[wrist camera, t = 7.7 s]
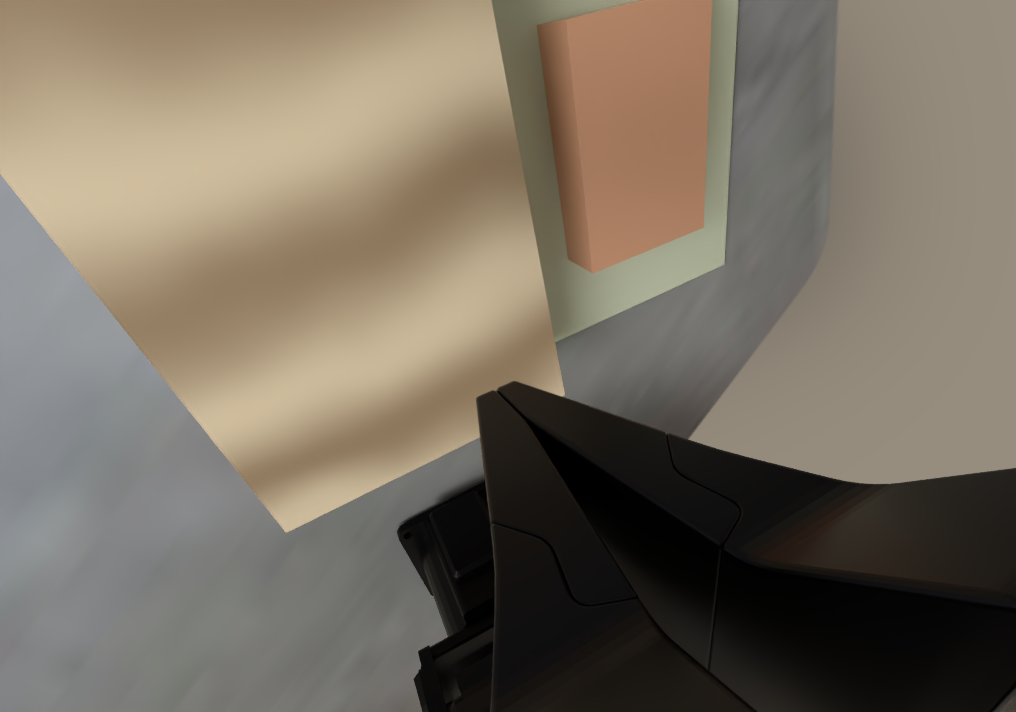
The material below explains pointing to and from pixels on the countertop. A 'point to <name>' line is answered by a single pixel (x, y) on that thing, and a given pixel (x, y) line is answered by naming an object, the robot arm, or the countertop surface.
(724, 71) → the mat
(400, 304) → the tan wooden flat block
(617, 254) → the tile
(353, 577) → the countertop surface
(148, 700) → the countertop surface
